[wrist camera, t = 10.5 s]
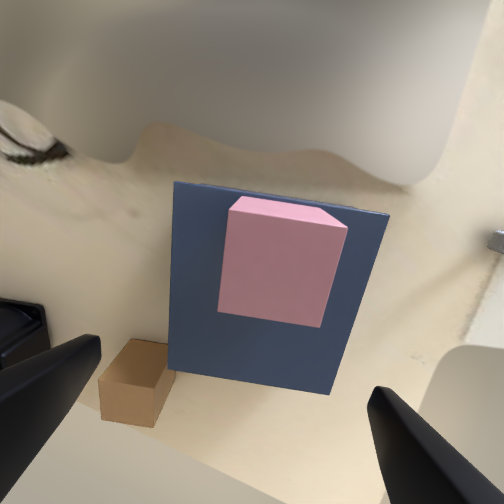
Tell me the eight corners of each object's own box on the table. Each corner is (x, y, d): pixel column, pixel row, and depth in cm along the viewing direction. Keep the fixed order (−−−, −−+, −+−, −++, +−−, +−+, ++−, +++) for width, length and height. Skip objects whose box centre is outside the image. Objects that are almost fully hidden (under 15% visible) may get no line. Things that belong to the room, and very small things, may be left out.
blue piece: (187, 328, 23) (166, 369, 18) (197, 178, 18) (173, 181, 14) (316, 349, 23) (329, 395, 18) (358, 203, 18) (390, 215, 14)
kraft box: (131, 373, 25) (100, 420, 21) (130, 338, 24) (97, 379, 19) (174, 380, 25) (153, 428, 21) (176, 345, 24) (154, 388, 19)
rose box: (232, 268, 15) (217, 311, 11) (241, 195, 14) (228, 208, 9) (303, 279, 15) (320, 328, 11) (320, 207, 14) (348, 227, 9)
